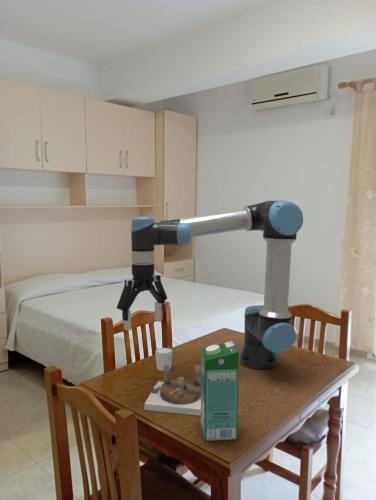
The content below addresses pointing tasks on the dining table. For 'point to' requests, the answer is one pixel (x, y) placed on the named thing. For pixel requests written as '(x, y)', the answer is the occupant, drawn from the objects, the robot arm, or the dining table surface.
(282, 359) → the dining table surface
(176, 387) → the cam capstan
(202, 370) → the milk carton
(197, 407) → the stand
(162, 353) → the white tapered cup
